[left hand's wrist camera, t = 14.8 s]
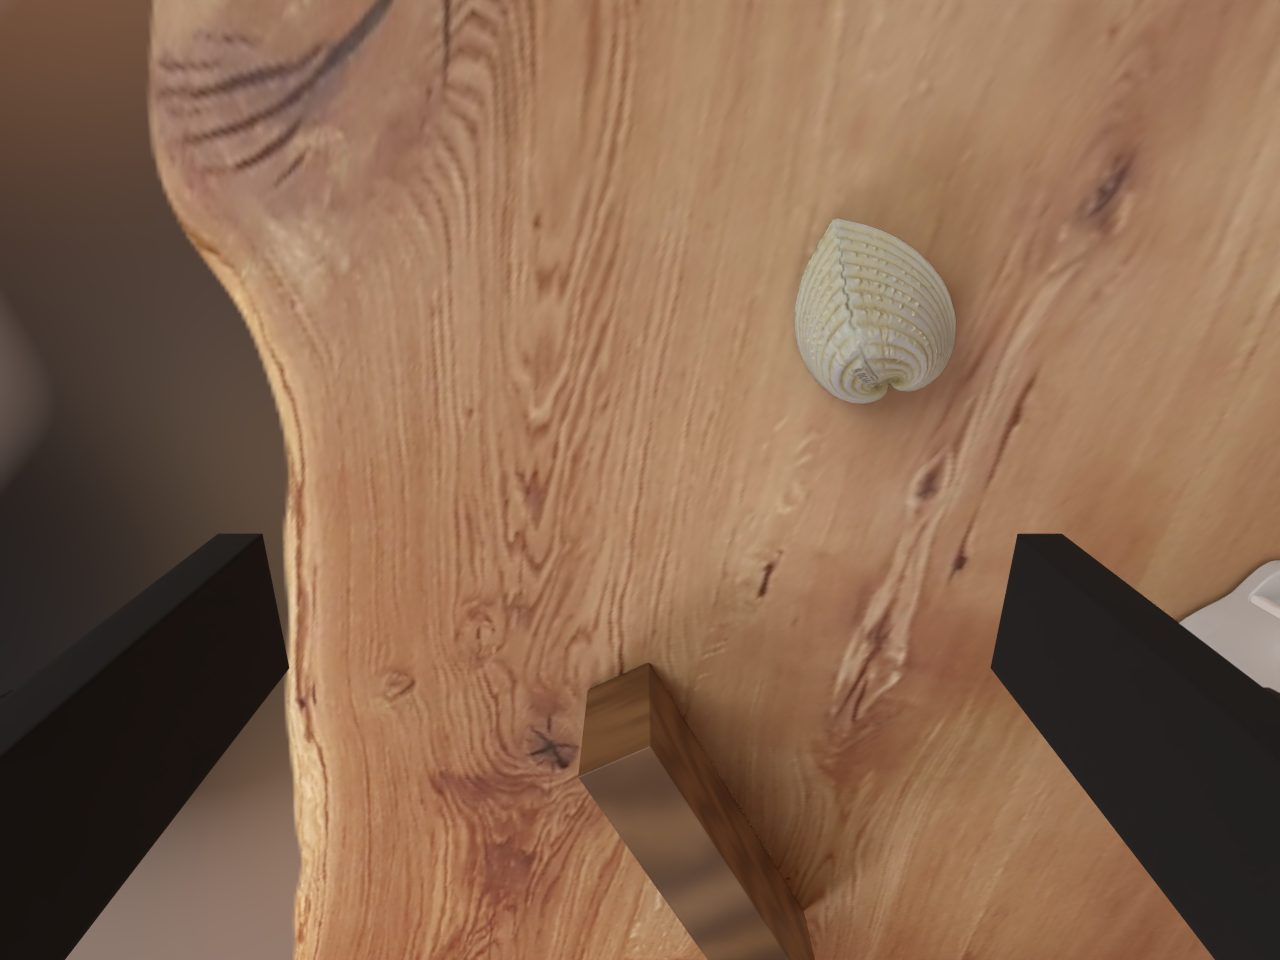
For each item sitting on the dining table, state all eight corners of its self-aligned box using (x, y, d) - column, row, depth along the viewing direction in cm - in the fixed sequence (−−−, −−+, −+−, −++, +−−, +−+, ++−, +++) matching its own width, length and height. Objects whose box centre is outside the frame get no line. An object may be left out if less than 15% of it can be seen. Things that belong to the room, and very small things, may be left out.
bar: (587, 689, 49) (577, 777, 41) (648, 662, 48) (650, 746, 41) (749, 932, 57) (765, 1042, 49) (803, 911, 56) (829, 1020, 49)
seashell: (821, 447, 40) (765, 360, 35) (815, 334, 45) (765, 241, 39) (977, 411, 36) (944, 307, 31) (954, 292, 41) (921, 181, 35)
